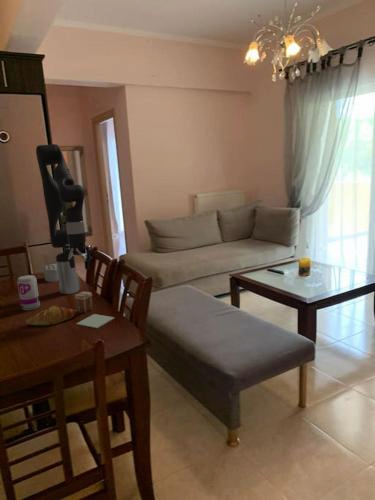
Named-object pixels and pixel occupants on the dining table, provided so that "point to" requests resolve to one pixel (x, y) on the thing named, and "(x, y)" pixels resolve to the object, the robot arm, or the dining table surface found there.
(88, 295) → the stool
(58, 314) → the croissant
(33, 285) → the supplement can
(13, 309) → the dining table surface
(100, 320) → the mat
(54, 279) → the egg container
